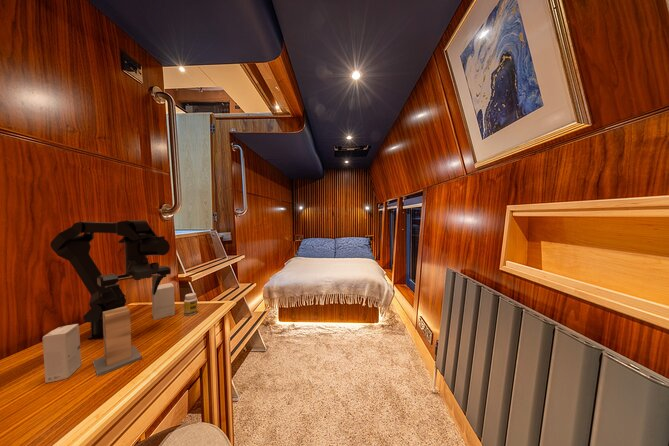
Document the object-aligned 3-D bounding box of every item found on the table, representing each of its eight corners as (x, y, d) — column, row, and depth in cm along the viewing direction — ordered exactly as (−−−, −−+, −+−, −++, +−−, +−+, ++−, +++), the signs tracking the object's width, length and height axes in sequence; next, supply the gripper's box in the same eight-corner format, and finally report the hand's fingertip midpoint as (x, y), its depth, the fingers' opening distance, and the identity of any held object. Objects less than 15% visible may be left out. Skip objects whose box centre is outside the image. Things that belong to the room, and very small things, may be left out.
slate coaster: (93, 363, 63) (93, 360, 63) (134, 348, 70) (134, 345, 70) (97, 376, 58) (97, 373, 58) (142, 358, 65) (141, 356, 65)
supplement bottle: (190, 316, 92) (190, 296, 92) (181, 315, 93) (181, 296, 93) (200, 311, 97) (199, 293, 97) (191, 310, 98) (190, 292, 98)
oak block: (104, 359, 64) (102, 311, 63) (127, 350, 68) (126, 306, 67) (107, 366, 61) (105, 316, 60) (131, 356, 65) (130, 310, 64)
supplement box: (173, 309, 99) (172, 282, 99) (175, 315, 94) (174, 286, 93) (151, 314, 94) (151, 285, 94) (152, 320, 89) (152, 290, 88)
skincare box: (68, 378, 57) (66, 333, 57) (43, 384, 55) (40, 337, 55) (82, 364, 63) (80, 322, 62) (60, 369, 61) (58, 326, 60)
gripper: (103, 262, 65) (106, 314, 66) (176, 253, 81) (177, 295, 81) (95, 258, 72) (97, 305, 72) (164, 251, 87) (165, 289, 87)
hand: (137, 298), depth 78 cm, fingers open, 9 cm apart
